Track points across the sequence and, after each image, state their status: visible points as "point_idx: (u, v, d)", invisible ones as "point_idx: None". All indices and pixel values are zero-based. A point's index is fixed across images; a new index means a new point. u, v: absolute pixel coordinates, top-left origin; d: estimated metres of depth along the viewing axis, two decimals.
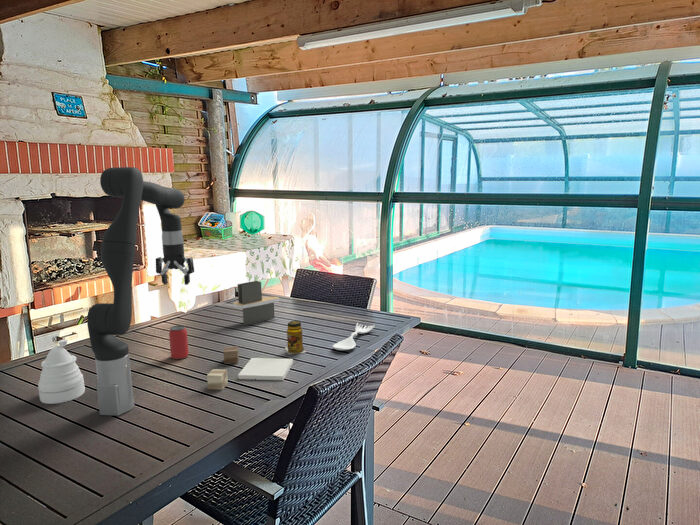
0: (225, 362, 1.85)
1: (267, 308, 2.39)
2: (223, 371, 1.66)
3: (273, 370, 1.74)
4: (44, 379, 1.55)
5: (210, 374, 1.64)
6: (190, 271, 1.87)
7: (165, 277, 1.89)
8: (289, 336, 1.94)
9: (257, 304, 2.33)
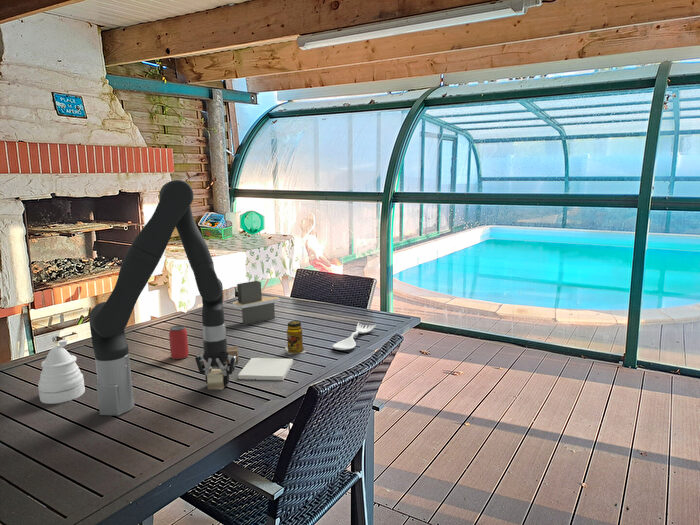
0: None
1: (267, 308, 2.39)
2: None
3: (273, 370, 1.74)
4: (44, 379, 1.55)
5: (210, 374, 1.64)
6: (230, 372, 1.63)
7: None
8: (289, 336, 1.94)
9: (256, 304, 2.33)
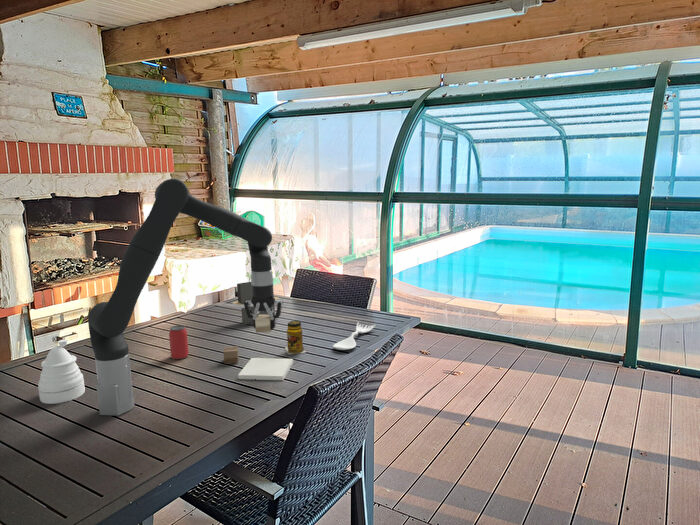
0: (225, 362, 1.85)
1: None
2: (269, 316, 1.75)
3: (273, 370, 1.74)
4: (44, 379, 1.55)
5: (258, 318, 1.73)
6: (277, 316, 1.73)
7: None
8: (289, 336, 1.94)
9: None
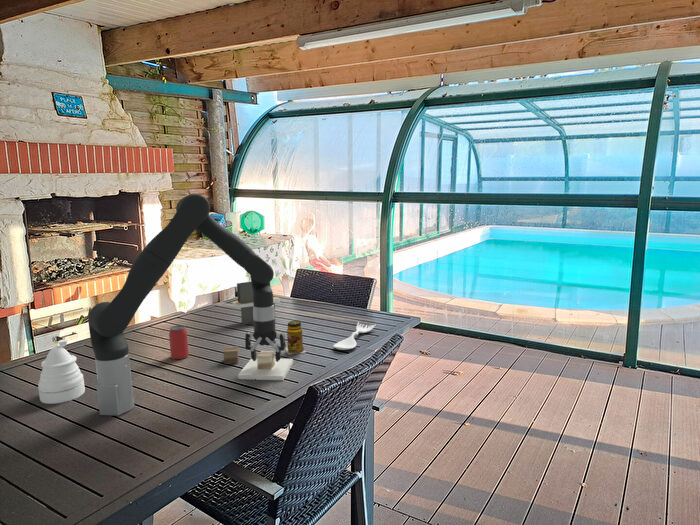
0: (225, 362, 1.85)
1: None
2: (271, 352, 1.78)
3: (273, 370, 1.74)
4: (44, 379, 1.55)
5: (260, 355, 1.76)
6: (282, 348, 1.75)
7: (255, 353, 1.77)
8: (289, 336, 1.94)
9: None
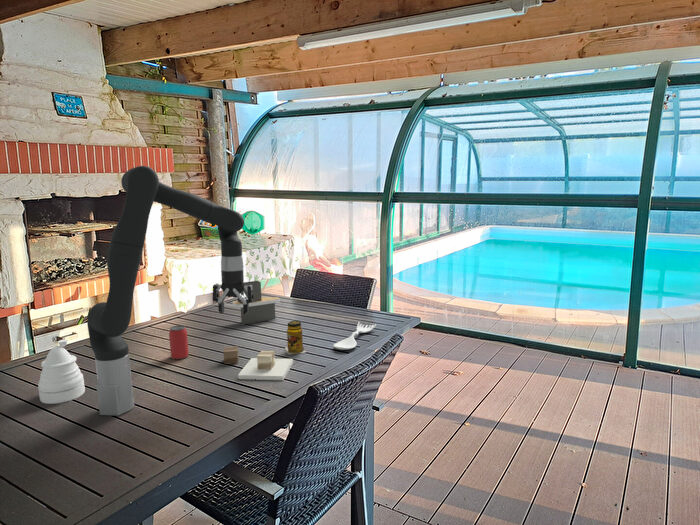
0: (225, 362, 1.85)
1: (267, 308, 2.38)
2: (271, 352, 1.78)
3: (273, 370, 1.74)
4: (44, 379, 1.55)
5: (260, 355, 1.76)
6: (250, 300, 1.71)
7: (222, 305, 1.74)
8: (289, 336, 1.94)
9: (255, 304, 2.33)
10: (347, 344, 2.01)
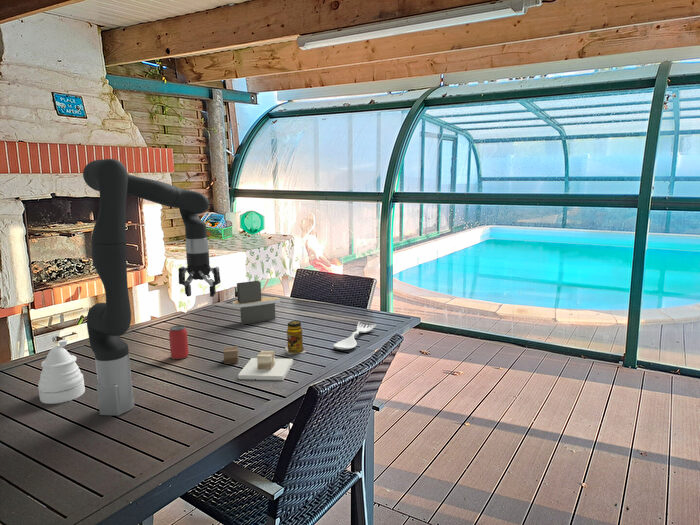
0: (225, 362, 1.85)
1: (267, 308, 2.38)
2: (271, 352, 1.78)
3: (273, 370, 1.74)
4: (44, 379, 1.55)
5: (260, 355, 1.76)
6: (216, 282, 1.71)
7: (189, 288, 1.73)
8: (289, 336, 1.94)
9: (255, 304, 2.33)
10: (347, 344, 2.01)
